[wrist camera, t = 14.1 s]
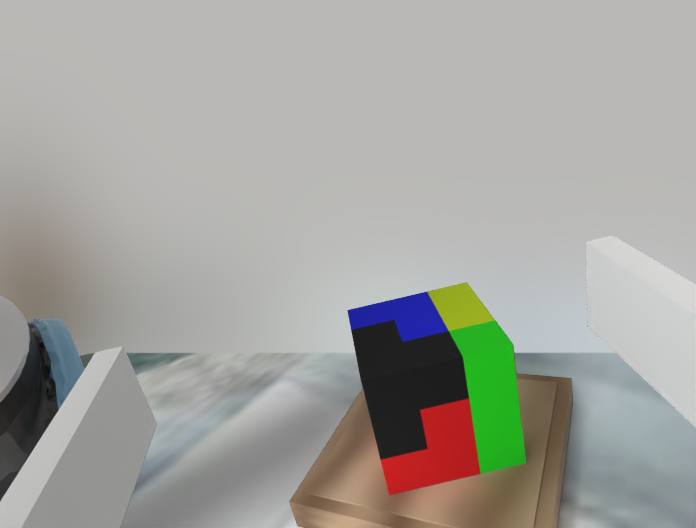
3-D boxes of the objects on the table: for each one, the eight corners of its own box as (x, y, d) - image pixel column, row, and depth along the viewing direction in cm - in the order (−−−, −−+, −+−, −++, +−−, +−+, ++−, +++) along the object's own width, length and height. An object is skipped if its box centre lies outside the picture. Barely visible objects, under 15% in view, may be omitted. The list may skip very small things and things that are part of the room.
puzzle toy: (371, 408, 46) (347, 310, 43) (480, 382, 46) (466, 282, 43) (389, 495, 37) (360, 380, 33) (526, 463, 37) (513, 344, 33)
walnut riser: (297, 525, 40) (288, 499, 39) (384, 381, 54) (379, 360, 53) (548, 593, 31) (545, 562, 30) (572, 401, 46) (571, 376, 45)
